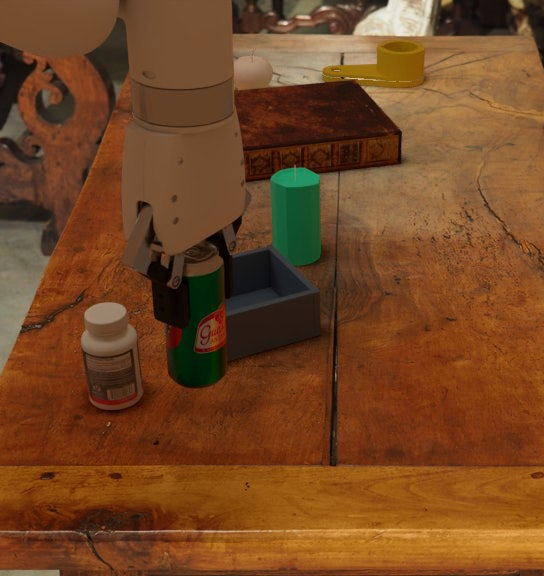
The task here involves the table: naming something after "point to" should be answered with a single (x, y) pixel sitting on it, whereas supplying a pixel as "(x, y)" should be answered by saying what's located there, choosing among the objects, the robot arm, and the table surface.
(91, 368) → the pill bottle
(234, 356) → the bin
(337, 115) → the book
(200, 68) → the robot arm
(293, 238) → the candle
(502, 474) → the table surface
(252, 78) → the apple
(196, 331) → the soda can
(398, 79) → the crank
